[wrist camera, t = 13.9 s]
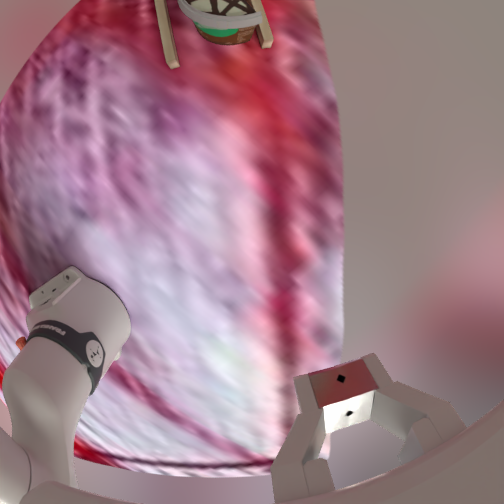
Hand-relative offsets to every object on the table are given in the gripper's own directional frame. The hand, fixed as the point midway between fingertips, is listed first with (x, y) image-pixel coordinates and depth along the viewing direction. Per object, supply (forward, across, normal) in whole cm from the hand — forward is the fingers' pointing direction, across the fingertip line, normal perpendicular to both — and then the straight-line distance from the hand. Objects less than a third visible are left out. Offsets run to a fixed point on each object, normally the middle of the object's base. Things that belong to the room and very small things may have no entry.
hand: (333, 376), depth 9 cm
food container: (+29, 0, -27) cm, 40 cm away
